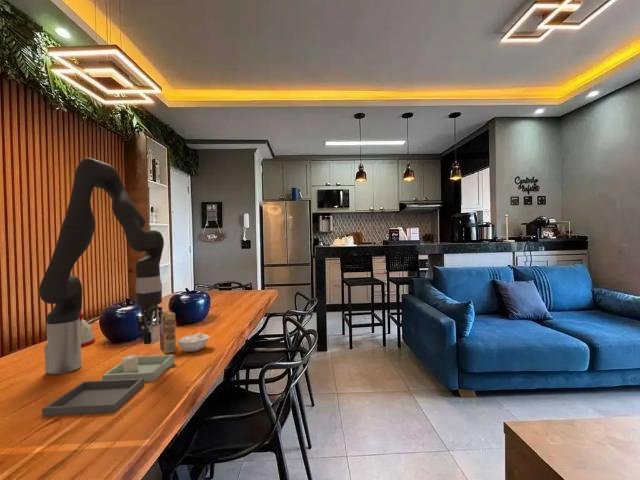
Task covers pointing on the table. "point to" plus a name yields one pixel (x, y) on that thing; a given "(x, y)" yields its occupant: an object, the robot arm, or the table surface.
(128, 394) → the parts tray
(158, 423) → the table surface
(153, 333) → the pebble
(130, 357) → the pebble
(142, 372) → the shallow green tray
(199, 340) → the cell model
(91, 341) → the kitchen timer
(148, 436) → the table surface
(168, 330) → the candy box
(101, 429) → the table surface
